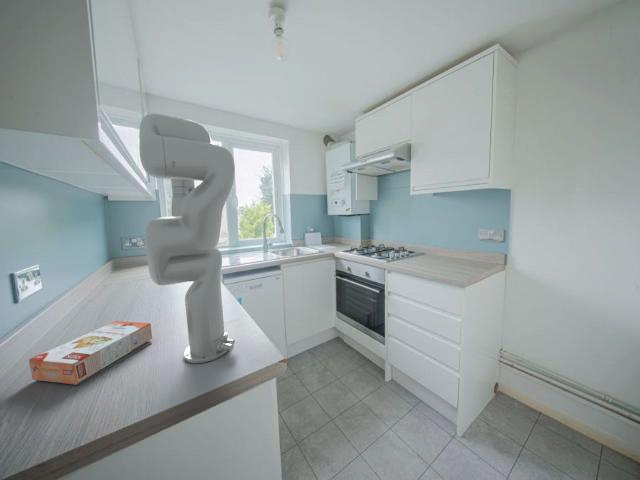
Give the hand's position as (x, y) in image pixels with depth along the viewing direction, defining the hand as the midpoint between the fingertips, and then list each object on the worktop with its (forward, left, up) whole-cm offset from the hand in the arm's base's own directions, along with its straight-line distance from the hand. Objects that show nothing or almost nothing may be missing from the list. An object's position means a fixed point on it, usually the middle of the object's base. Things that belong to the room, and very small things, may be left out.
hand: (188, 240), depth 87 cm
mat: (+7, +28, -31) cm, 42 cm away
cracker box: (+8, +18, -28) cm, 34 cm away
